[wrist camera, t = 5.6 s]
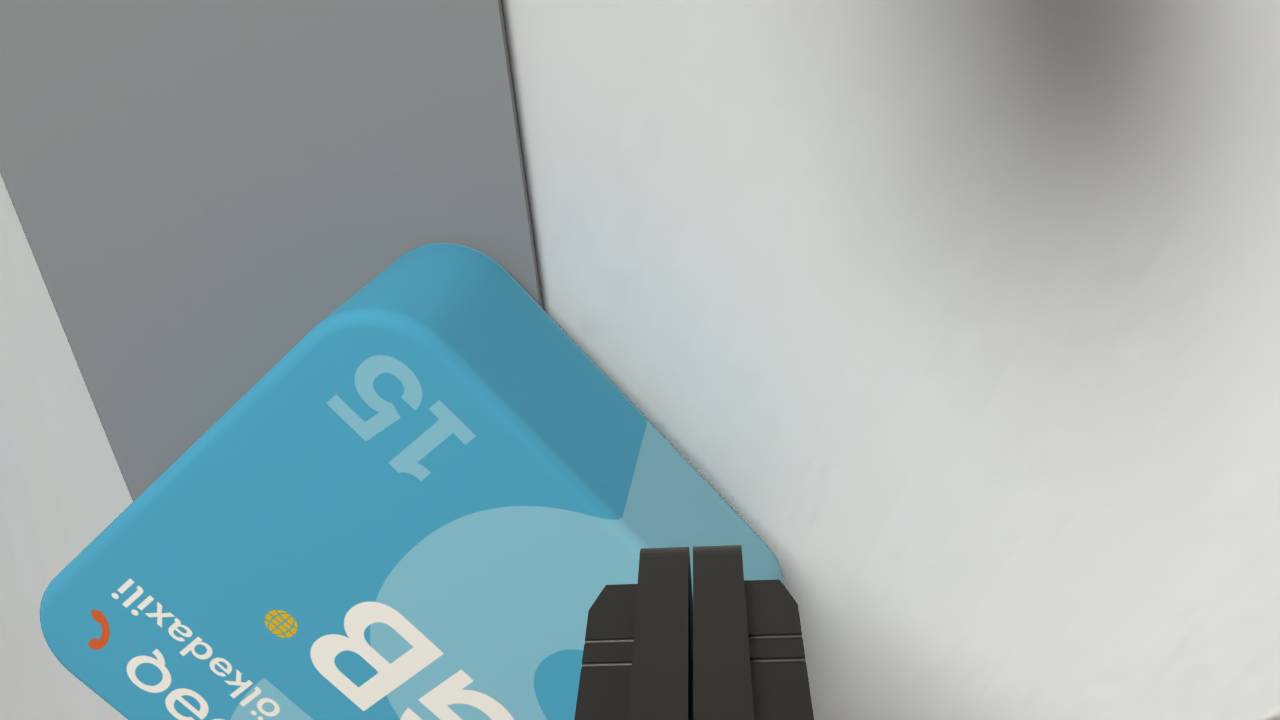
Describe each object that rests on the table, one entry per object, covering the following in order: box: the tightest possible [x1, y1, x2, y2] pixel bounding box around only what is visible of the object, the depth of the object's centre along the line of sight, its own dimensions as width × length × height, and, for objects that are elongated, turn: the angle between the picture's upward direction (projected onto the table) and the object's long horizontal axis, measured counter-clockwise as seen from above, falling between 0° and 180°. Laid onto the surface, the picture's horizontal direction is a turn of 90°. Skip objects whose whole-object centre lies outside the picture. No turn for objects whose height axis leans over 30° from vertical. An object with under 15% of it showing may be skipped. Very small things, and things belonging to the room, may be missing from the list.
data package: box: [40, 243, 784, 720], centre depth 21 cm, size 12×4×12 cm
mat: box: [0, 0, 543, 502], centre depth 22 cm, size 11×20×1 cm, turn 4°
